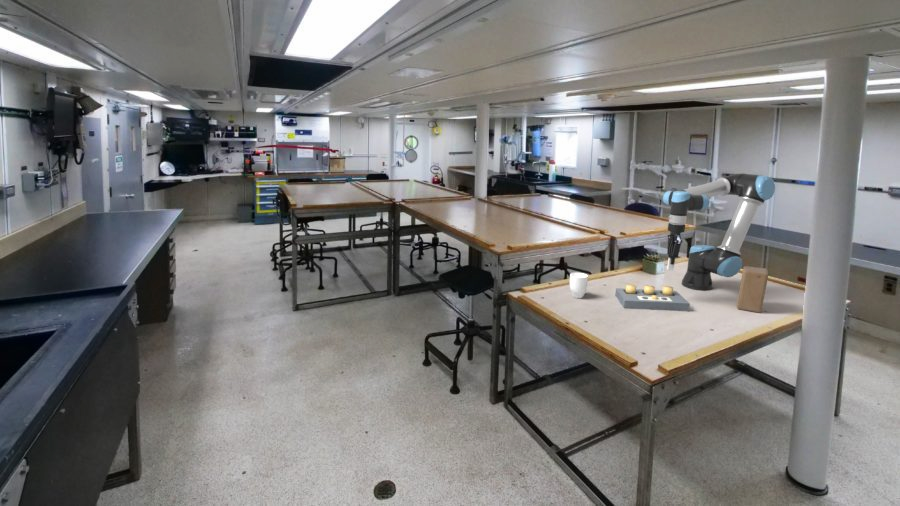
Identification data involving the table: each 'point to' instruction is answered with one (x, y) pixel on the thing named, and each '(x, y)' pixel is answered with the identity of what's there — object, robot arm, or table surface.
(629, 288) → the button
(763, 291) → the wooden block
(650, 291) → the button middle
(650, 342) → the table surface
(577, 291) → the mug
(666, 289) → the button
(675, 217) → the robot arm
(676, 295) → the console
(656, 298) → the card
